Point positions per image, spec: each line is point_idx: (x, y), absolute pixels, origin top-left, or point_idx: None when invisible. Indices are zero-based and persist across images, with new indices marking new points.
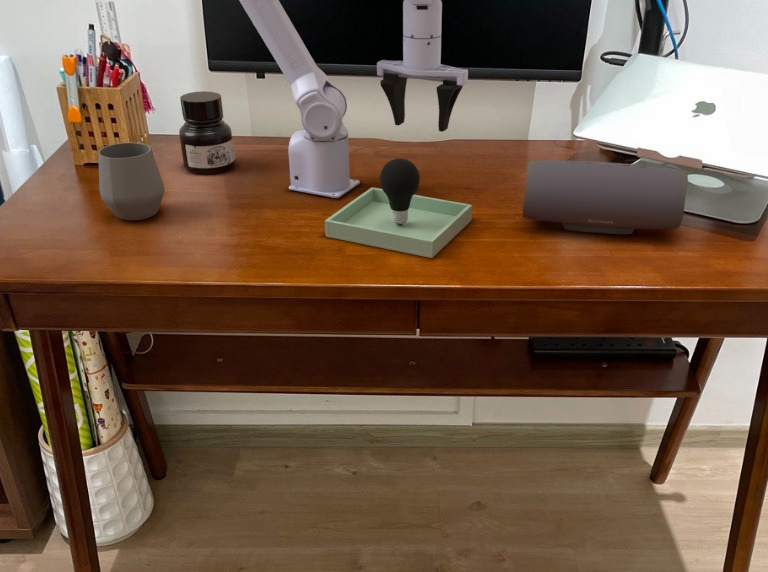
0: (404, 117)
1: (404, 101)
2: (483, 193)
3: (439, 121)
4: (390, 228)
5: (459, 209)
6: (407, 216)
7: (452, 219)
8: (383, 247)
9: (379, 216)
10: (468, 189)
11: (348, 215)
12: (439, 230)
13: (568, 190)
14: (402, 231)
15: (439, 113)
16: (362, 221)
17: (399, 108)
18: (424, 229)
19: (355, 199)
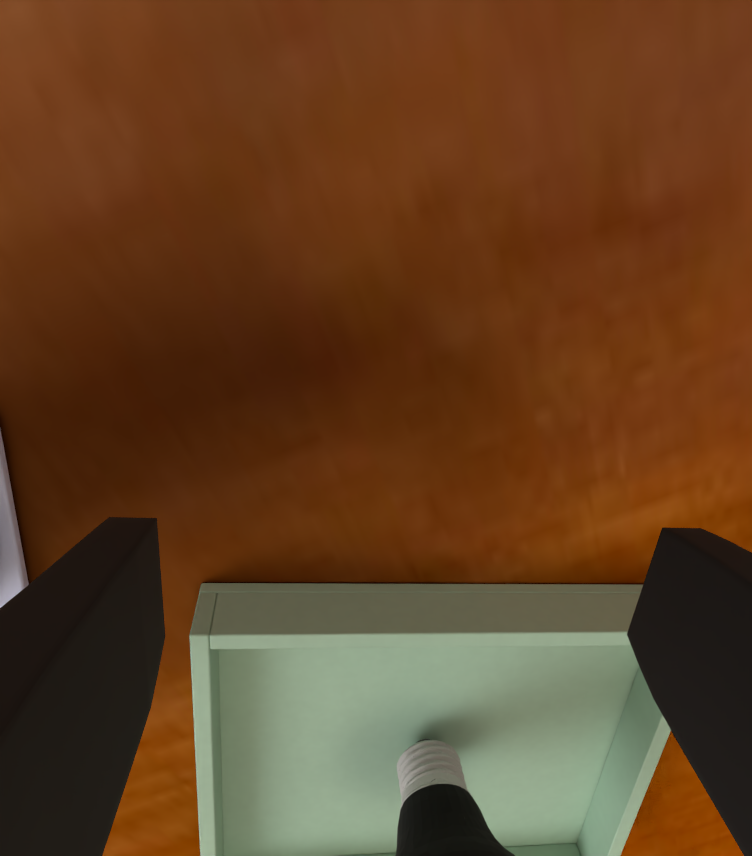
0: (143, 543)
1: (45, 677)
2: (708, 263)
3: (688, 739)
4: None
5: None
6: (461, 770)
7: (644, 766)
8: None
9: (319, 715)
10: (619, 234)
11: (219, 788)
12: (574, 725)
13: None
14: None
15: (745, 845)
16: (280, 768)
17: (96, 768)
18: (521, 739)
19: (200, 765)
